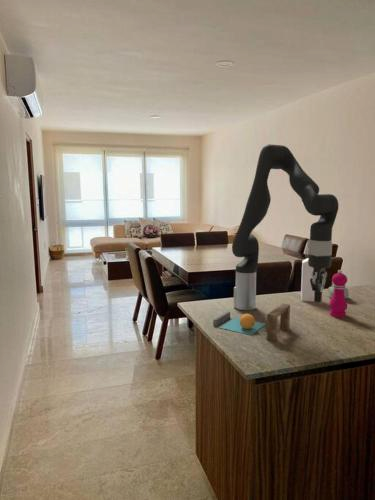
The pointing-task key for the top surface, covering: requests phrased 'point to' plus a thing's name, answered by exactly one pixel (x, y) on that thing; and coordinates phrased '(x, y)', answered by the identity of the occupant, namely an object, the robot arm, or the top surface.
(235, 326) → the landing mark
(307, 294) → the milk
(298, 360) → the top surface
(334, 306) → the pepper mill
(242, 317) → the ball
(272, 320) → the bridge
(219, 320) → the stopper
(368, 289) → the top surface
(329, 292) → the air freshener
